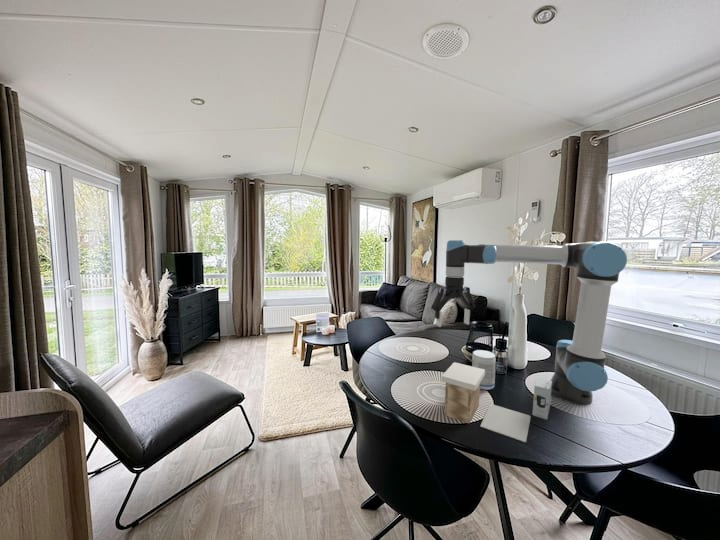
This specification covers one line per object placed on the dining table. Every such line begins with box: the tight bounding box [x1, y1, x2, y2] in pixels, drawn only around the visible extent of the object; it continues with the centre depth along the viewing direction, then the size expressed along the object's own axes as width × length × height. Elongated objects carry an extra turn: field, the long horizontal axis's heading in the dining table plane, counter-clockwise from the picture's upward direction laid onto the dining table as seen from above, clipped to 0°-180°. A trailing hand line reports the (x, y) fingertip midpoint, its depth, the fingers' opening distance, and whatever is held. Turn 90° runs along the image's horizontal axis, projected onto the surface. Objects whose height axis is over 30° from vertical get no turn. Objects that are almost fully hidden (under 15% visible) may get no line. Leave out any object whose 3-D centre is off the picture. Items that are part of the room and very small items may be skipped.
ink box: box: [531, 377, 552, 420], centre depth 110 cm, size 9×5×12 cm, turn 141°
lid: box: [440, 361, 485, 391], centre depth 110 cm, size 12×15×3 cm
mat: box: [480, 403, 532, 444], centre depth 105 cm, size 14×17×1 cm
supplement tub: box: [471, 349, 496, 391], centre depth 130 cm, size 10×10×15 cm
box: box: [444, 382, 481, 424], centre depth 111 cm, size 9×14×13 cm, turn 145°
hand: (452, 324), depth 127 cm, fingers open, 13 cm apart
